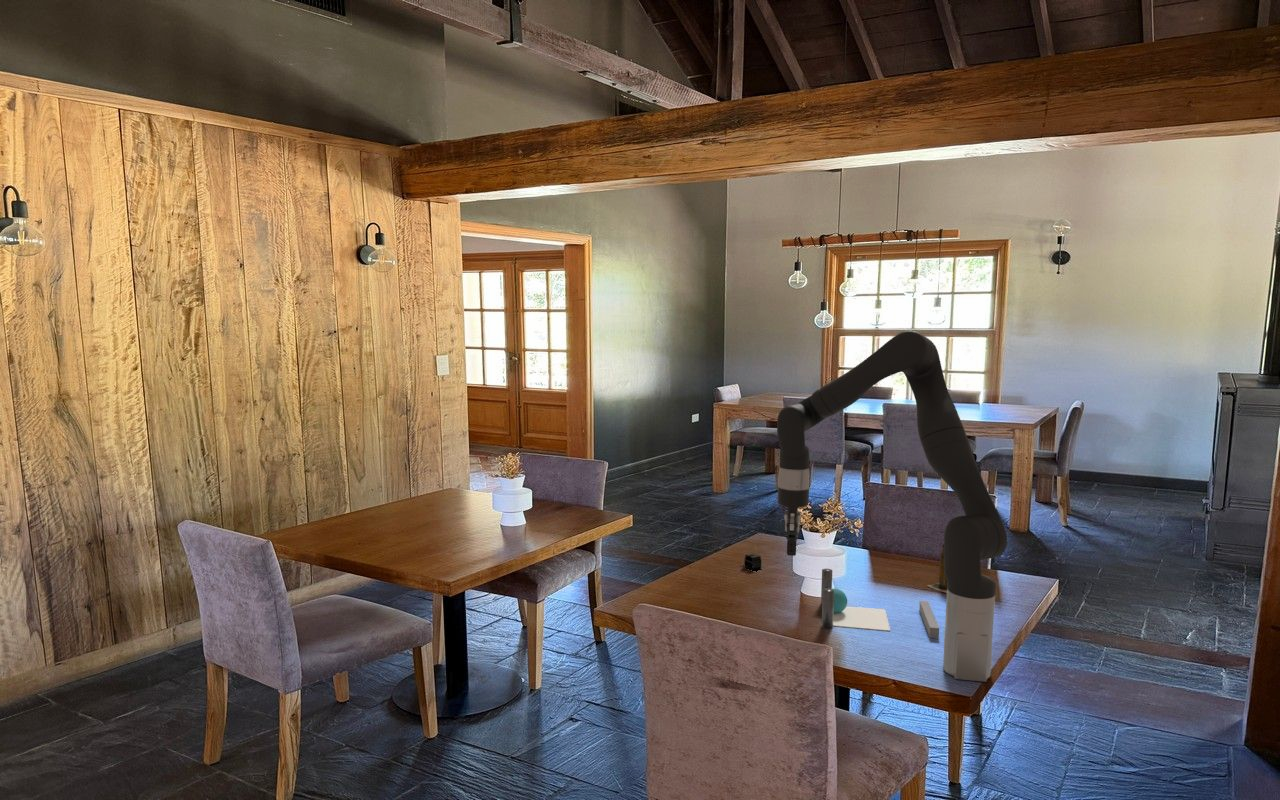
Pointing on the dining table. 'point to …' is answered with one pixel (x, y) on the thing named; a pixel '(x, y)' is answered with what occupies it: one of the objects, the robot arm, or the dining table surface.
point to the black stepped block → (752, 562)
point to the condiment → (941, 576)
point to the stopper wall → (929, 619)
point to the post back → (826, 581)
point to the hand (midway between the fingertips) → (791, 554)
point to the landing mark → (862, 618)
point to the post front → (827, 608)
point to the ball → (839, 601)
